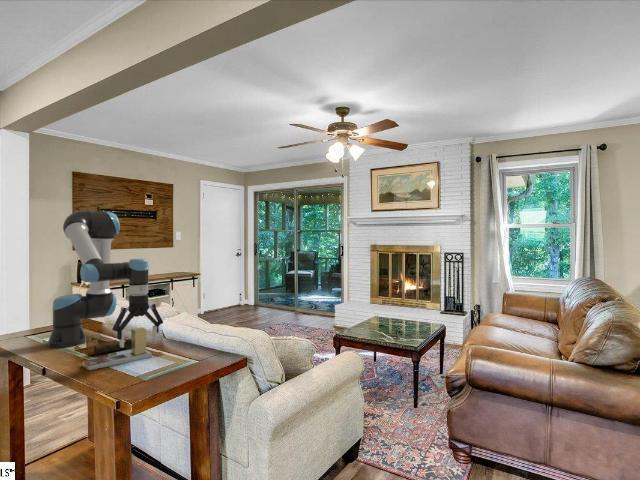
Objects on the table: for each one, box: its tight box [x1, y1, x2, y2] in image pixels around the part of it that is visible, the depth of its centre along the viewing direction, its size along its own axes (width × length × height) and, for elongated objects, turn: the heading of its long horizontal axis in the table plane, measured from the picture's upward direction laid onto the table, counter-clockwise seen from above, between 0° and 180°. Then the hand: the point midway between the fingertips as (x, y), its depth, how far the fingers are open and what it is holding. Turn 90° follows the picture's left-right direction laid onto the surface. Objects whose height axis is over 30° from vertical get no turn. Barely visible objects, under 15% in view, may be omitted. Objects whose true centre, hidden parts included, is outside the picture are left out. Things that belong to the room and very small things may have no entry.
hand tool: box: [93, 338, 131, 356], centre depth 170 cm, size 19×4×5 cm, turn 131°
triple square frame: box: [82, 349, 153, 371], centre depth 155 cm, size 8×24×2 cm, turn 137°
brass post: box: [130, 327, 147, 356], centre depth 161 cm, size 4×4×12 cm
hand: (138, 343), depth 161 cm, fingers open, 13 cm apart
